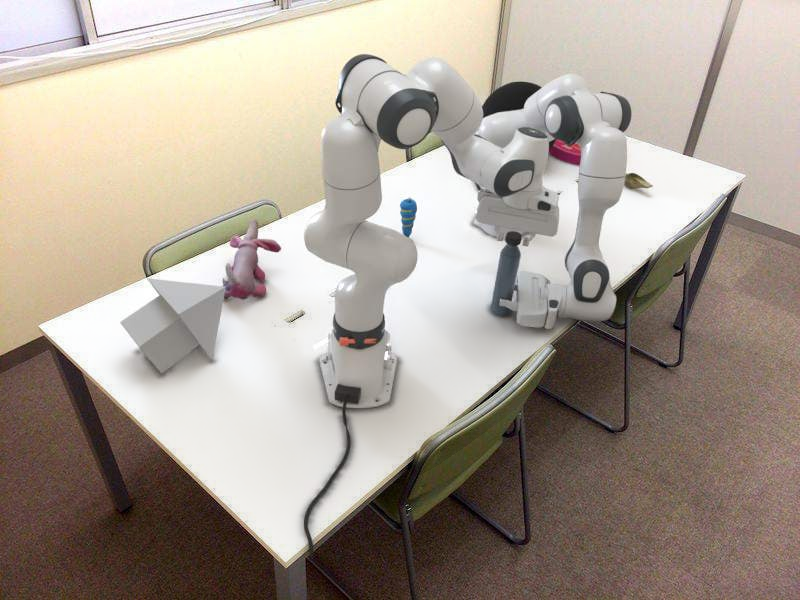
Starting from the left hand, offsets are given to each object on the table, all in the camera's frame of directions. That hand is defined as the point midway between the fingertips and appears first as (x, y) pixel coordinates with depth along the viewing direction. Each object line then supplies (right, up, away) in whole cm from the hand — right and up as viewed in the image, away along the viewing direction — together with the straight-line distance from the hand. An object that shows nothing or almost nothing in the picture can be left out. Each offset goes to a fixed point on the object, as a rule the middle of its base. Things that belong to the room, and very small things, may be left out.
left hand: (512, 242), depth 165 cm
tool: (+55, +29, +77) cm, 99 cm away
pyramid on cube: (-81, -26, -5) cm, 85 cm away
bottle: (-1, -17, +13) cm, 22 cm away
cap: (0, +2, -1) cm, 2 cm away
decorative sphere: (+15, +39, +87) cm, 96 cm away
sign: (+45, +46, +99) cm, 118 cm away
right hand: (-2, -13, +10) cm, 17 cm away
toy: (-72, -9, +18) cm, 75 cm away
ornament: (-26, +4, +39) cm, 47 cm away
